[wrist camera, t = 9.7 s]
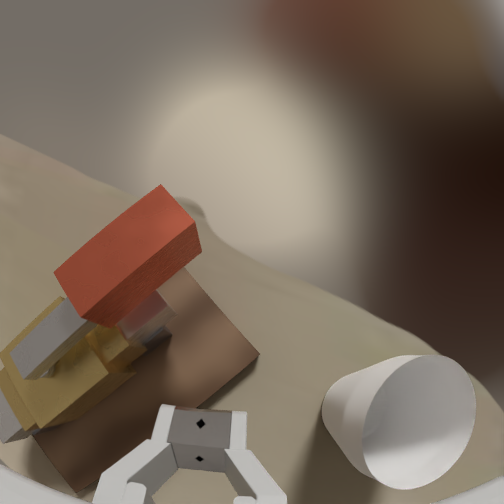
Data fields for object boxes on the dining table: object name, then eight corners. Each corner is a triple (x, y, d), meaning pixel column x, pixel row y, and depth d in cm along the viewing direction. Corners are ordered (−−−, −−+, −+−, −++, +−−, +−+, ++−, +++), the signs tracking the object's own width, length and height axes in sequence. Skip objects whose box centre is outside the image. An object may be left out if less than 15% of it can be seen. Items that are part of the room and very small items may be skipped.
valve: (193, 332, 26) (177, 317, 18) (54, 443, 21) (2, 459, 13) (151, 279, 27) (121, 244, 19) (21, 390, 22) (-35, 390, 14)
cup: (288, 427, 25) (328, 464, 14) (340, 343, 28) (406, 325, 17) (365, 464, 24) (433, 504, 12) (411, 385, 26) (494, 384, 15)
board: (258, 354, 27) (260, 354, 26) (82, 488, 21) (76, 493, 19) (161, 241, 30) (158, 235, 29) (6, 375, 24) (-2, 375, 22)
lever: (47, 389, 15) (3, 390, 11) (26, 353, 16) (-19, 345, 11) (202, 255, 19) (195, 221, 15) (174, 224, 20) (160, 184, 15)
